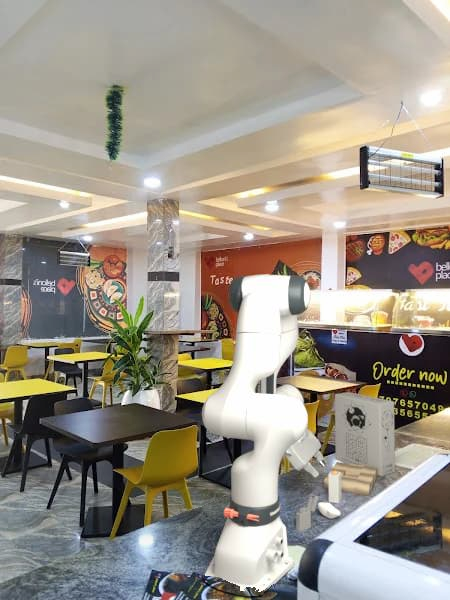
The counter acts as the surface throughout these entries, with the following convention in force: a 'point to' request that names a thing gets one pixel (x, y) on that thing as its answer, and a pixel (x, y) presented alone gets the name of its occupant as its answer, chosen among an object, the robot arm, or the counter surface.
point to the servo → (335, 486)
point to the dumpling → (328, 510)
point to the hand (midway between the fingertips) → (321, 470)
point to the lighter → (306, 514)
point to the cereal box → (365, 431)
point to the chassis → (355, 478)
